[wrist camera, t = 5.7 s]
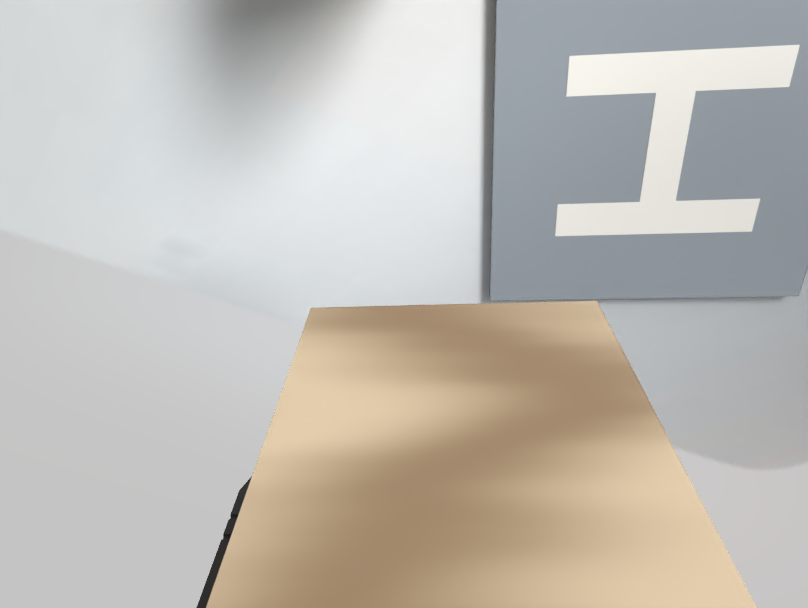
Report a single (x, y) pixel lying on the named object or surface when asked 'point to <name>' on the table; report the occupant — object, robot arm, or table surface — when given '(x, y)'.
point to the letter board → (649, 149)
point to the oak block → (470, 472)
